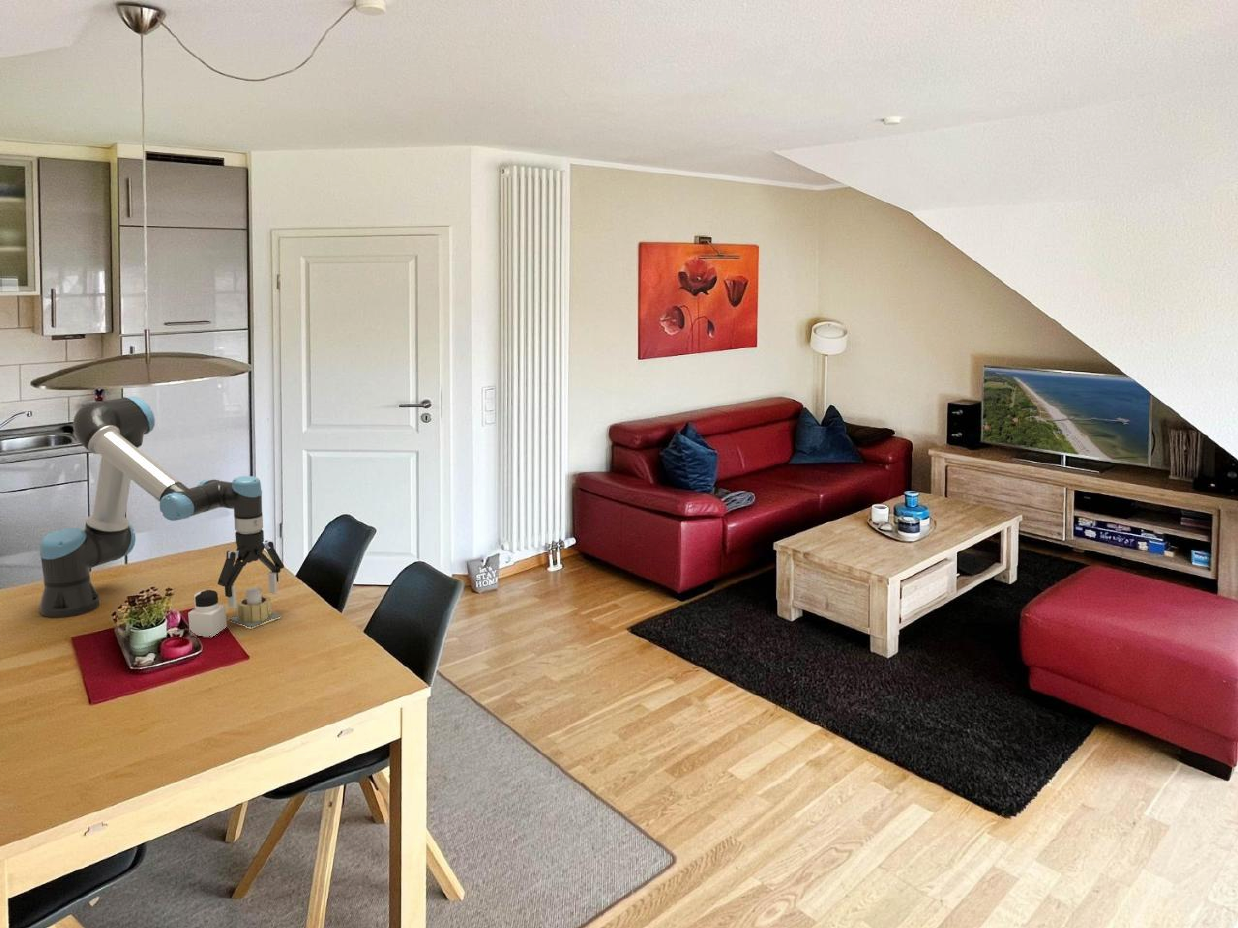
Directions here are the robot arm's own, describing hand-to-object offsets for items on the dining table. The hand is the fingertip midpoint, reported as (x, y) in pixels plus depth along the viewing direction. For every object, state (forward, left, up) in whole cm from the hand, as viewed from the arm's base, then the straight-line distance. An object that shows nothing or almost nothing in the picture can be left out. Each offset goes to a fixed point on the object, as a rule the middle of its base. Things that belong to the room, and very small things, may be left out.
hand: (253, 599), depth 257 cm
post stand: (0, 0, -6) cm, 6 cm away
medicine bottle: (-3, -13, -7) cm, 15 cm away
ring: (0, 0, -5) cm, 5 cm away
